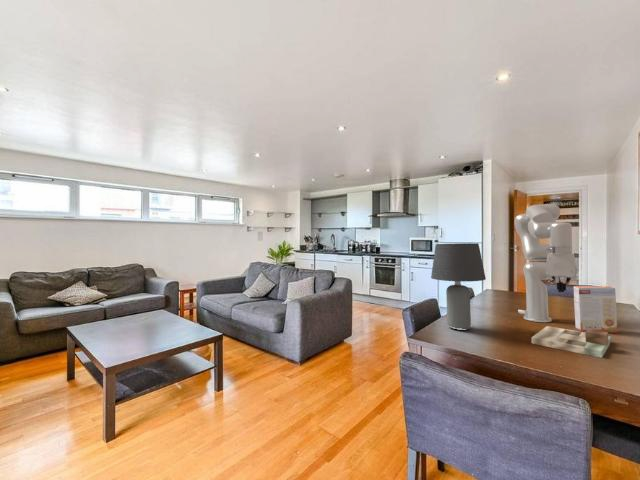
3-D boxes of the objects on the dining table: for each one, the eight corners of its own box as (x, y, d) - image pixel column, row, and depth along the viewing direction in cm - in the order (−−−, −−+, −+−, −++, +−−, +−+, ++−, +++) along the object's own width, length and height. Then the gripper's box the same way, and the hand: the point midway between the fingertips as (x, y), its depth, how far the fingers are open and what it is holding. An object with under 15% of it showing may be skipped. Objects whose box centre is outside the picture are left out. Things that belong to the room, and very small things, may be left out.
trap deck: (531, 343, 127) (531, 337, 127) (547, 331, 143) (546, 326, 143) (601, 357, 110) (601, 351, 110) (610, 342, 126) (610, 336, 126)
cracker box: (610, 329, 143) (608, 286, 143) (618, 333, 137) (616, 288, 137) (574, 327, 147) (573, 285, 147) (580, 331, 142) (579, 287, 142)
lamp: (486, 324, 156) (484, 242, 156) (488, 339, 134) (485, 243, 134) (435, 319, 168) (433, 243, 168) (429, 332, 146) (426, 244, 146)
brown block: (585, 341, 120) (585, 332, 120) (588, 338, 124) (588, 329, 124) (606, 345, 116) (605, 335, 116) (608, 342, 119) (608, 332, 119)
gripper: (538, 250, 135) (538, 290, 136) (581, 251, 124) (581, 295, 124) (542, 249, 140) (543, 288, 141) (585, 250, 128) (585, 292, 129)
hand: (561, 291), depth 132 cm, fingers closed
